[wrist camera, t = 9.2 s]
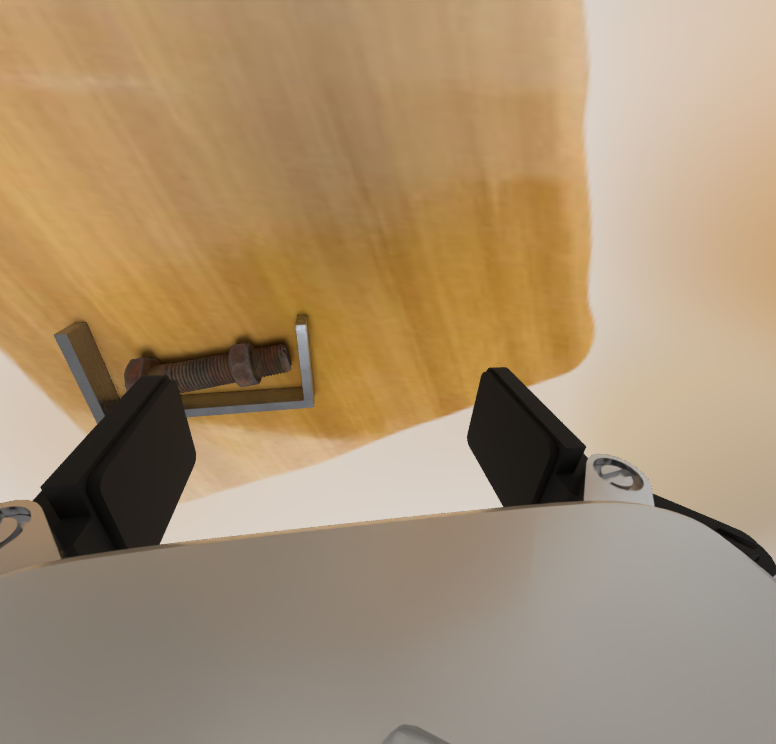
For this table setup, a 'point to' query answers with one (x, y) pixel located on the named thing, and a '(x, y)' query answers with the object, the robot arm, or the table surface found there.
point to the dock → (104, 396)
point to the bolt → (216, 368)
